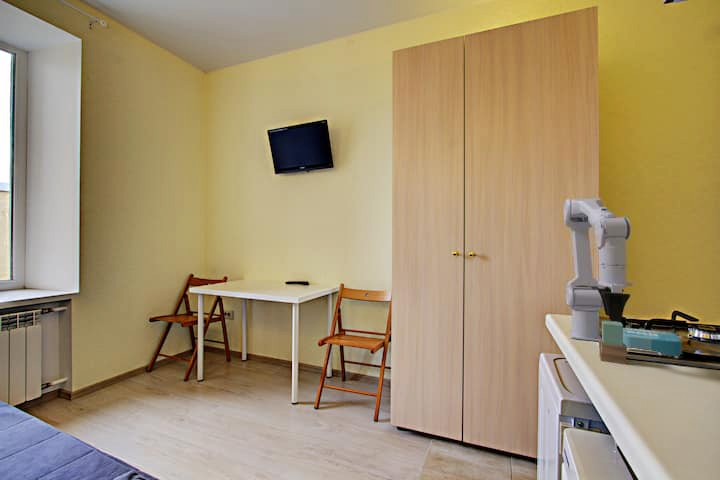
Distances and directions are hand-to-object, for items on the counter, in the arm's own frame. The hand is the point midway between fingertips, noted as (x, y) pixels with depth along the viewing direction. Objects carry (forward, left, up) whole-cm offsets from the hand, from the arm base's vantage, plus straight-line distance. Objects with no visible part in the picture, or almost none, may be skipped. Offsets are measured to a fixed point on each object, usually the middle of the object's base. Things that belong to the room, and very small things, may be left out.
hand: (612, 318), depth 89 cm
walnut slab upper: (0, 0, -8) cm, 8 cm away
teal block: (+1, 0, -6) cm, 6 cm away
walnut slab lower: (0, 0, -11) cm, 11 cm away
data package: (-8, +9, -8) cm, 15 cm away
